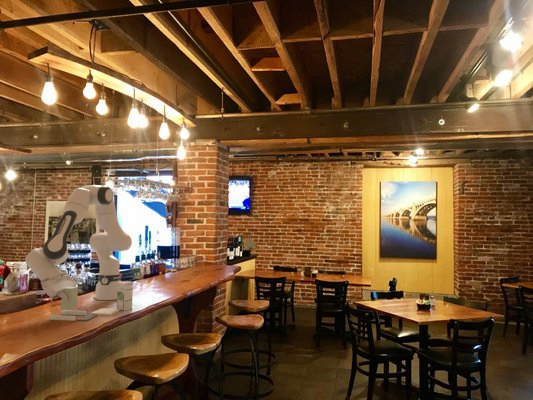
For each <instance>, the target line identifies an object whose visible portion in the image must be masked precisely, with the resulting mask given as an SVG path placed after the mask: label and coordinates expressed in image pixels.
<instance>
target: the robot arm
mask: <svg viewBox="0 0 533 400" xmlns="http://www.w3.org/2000/svg"><path fill="white" fill-rule="evenodd" d="M90 206H94V207H95V216H96V222H97V225H98V227H99V228H100V229H102V230H104V232H98V233H93V234H92V235H91V236H90V238H89V246H90V248H91V249H92V250H94V252H95V253H96V255H97V258H98V261H99V274H98V282H97V283H96V285H95V293H94V295H93V296H92V298H93V299H95V300H99V301H112V300H117V292H118V282H121V281H122V280H121V278H122V277H123V275H122V273H120V266H121V265H120V260H119V259H118V258H117V257H115V256H114V254H113V252H126V251H128V250H130V248H131V246H132V243H133V240H132V237H131V236H130V235H129V234H128V233H126V232H125V231H124V230H123V228H122V227H121V225H120V223H119V220H118V215H117V209H116V204H115V201H114V192H113V190H112V188H111V187H110V186H107V185H99V184H98V185H97V184H91V185H89V184H88V185H79V186H77V187H76V188H75V189H74V190H73V191H72V192H71V194H70V195H69V197H68V198H67V200H66V203H65V206H64V208H63V210H62V214H61V218H60V220H59V222H58V224H57V226H56V228H55V231H54V233H53V234H52V235H51V236H50V237H48V239H47V240H46V241H45V242H44V244H43V246H42V247H40V248H38V247H37V248H33V249H31V250H30V251H29V252H28V253H27V254H26V256H25V259H24V261H25V263H26V265H27V266H28V268H29V269H30V270H31V271H32V272H33V273H34V274H35V275H36V276H37V277H38V279H39V280H40V285H41V287H42V289H43V291H44V293H46V295H47V296H48V297H50V298H53V297H55V296H58V297H59V298H61V299H62V298H63V299H64V300H65V301H66V300H68V299H69V297H68V296H67V295H65V294H63V292H62V291H63V290H64V288H66V287H77V283H76V281H75V280H74V279H73V277H72V276H70V275H69V274H68V271H67V270H65V269H60V268H58V267H57V266H59V265H61V264H62V263H65V262H66V261H67V260H68V257H69V250H68V244H67V240H68V238H69V235H70V233H71V231H72V229H73V227H74V226H75V225H76V224H80V223H81V222H82V221H83V220H84V218H85V217H86V215H87V213H88V210H89V208H90Z"/></svg>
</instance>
